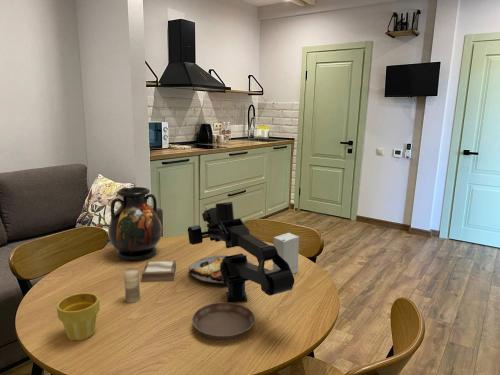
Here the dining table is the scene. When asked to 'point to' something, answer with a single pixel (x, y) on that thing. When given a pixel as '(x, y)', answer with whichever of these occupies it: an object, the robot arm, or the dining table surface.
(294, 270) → the skincare box
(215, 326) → the plant saucer
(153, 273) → the plinth
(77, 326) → the plant pot
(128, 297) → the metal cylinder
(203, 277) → the food plate
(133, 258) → the amphora vase
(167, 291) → the dining table surface
